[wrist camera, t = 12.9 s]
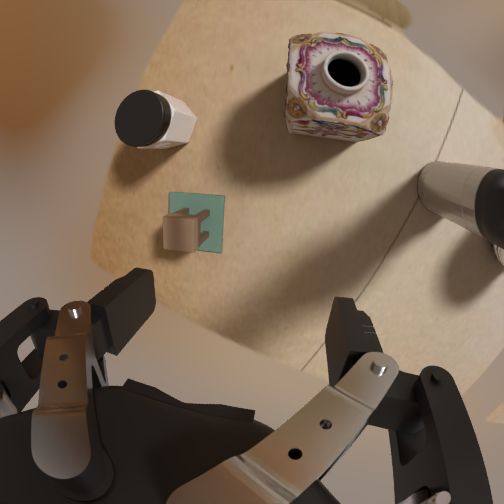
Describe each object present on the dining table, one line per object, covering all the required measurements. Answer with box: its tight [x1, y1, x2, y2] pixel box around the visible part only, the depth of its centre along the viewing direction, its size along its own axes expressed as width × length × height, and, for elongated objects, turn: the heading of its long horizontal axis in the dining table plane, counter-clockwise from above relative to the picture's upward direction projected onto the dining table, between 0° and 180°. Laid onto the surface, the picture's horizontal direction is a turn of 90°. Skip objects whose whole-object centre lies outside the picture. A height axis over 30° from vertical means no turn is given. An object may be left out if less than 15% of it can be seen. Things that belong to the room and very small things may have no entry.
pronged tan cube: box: [163, 208, 210, 253], centre depth 43 cm, size 5×5×8 cm
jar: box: [115, 90, 197, 149], centre depth 36 cm, size 9×8×12 cm
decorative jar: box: [284, 32, 393, 142], centre depth 29 cm, size 12×12×18 cm
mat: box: [169, 192, 225, 253], centre depth 47 cm, size 10×10×1 cm
